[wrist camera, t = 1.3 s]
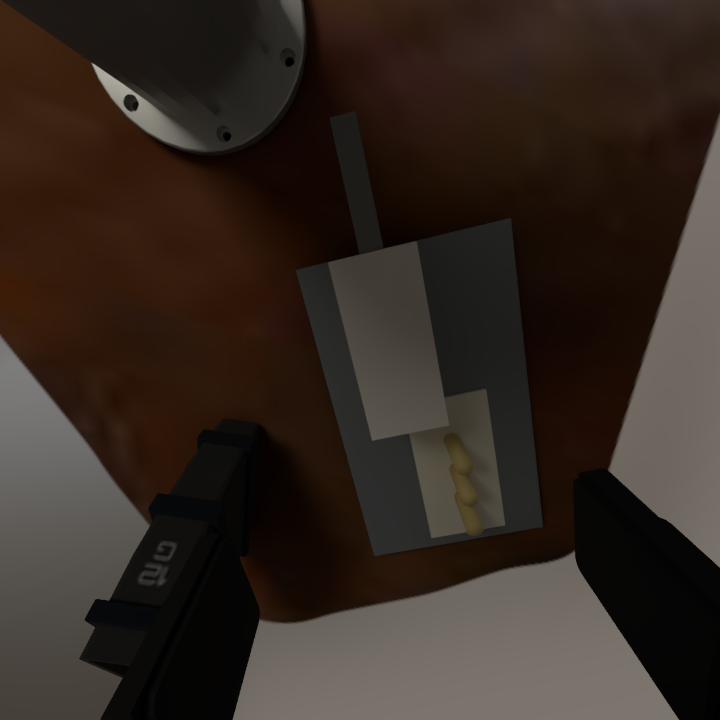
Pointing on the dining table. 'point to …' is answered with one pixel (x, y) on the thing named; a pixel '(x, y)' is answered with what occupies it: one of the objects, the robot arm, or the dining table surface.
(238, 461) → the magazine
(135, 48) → the robot arm
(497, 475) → the board
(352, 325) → the plug
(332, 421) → the dining table surface
